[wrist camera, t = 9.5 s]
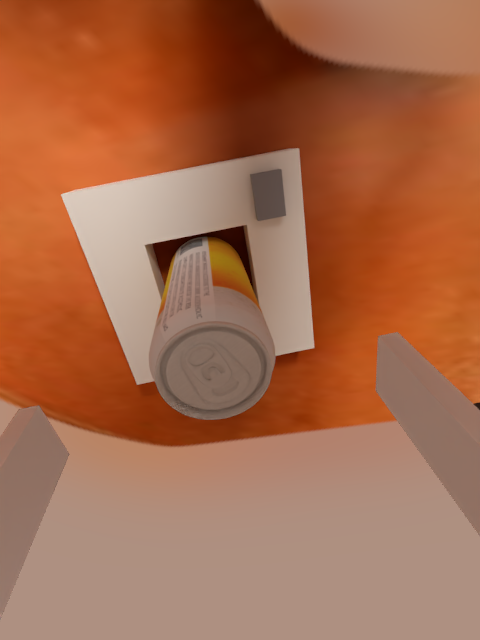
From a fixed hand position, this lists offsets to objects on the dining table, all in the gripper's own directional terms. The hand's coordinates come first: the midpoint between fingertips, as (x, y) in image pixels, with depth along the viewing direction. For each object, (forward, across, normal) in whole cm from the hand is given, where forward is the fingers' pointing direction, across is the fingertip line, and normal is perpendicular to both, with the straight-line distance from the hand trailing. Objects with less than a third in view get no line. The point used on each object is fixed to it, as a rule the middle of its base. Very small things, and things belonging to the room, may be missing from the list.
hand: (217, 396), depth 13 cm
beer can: (+17, 0, -1) cm, 17 cm away
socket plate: (+17, 0, -1) cm, 17 cm away
